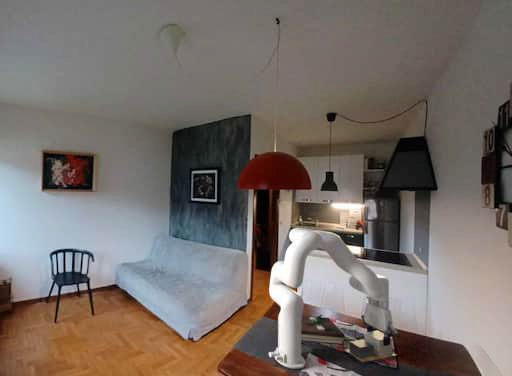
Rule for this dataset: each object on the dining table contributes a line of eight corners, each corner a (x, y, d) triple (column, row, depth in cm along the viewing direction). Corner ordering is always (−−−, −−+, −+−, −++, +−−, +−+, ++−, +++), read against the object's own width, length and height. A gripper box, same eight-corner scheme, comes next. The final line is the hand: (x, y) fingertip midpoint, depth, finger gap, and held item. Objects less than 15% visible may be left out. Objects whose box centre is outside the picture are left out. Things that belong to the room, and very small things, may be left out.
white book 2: (379, 351, 118) (379, 345, 118) (364, 342, 125) (364, 337, 125) (392, 348, 120) (392, 343, 120) (377, 340, 127) (377, 335, 127)
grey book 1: (360, 353, 117) (360, 347, 117) (349, 346, 121) (349, 341, 121) (373, 350, 119) (373, 345, 119) (363, 344, 123) (363, 339, 123)
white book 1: (379, 345, 118) (379, 340, 118) (364, 337, 125) (364, 332, 125) (392, 343, 120) (392, 338, 120) (377, 335, 127) (377, 330, 127)
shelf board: (362, 365, 114) (362, 361, 114) (344, 352, 123) (344, 349, 123) (396, 358, 119) (396, 355, 119) (376, 346, 128) (376, 343, 128)
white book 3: (379, 356, 118) (379, 351, 118) (364, 347, 125) (364, 342, 125) (392, 353, 120) (392, 348, 120) (377, 345, 127) (377, 340, 127)
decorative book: (275, 311, 149) (332, 315, 144) (275, 324, 149) (332, 329, 144) (285, 328, 130) (351, 334, 125) (285, 344, 130) (351, 350, 125)
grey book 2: (359, 358, 117) (360, 353, 117) (349, 351, 121) (349, 346, 121) (373, 355, 119) (373, 350, 119) (363, 349, 123) (363, 344, 123)
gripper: (354, 296, 130) (354, 331, 130) (392, 311, 113) (392, 352, 113) (366, 294, 132) (366, 330, 132) (405, 309, 115) (405, 350, 115)
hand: (378, 340), depth 122 cm, fingers closed on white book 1, 6 cm apart
